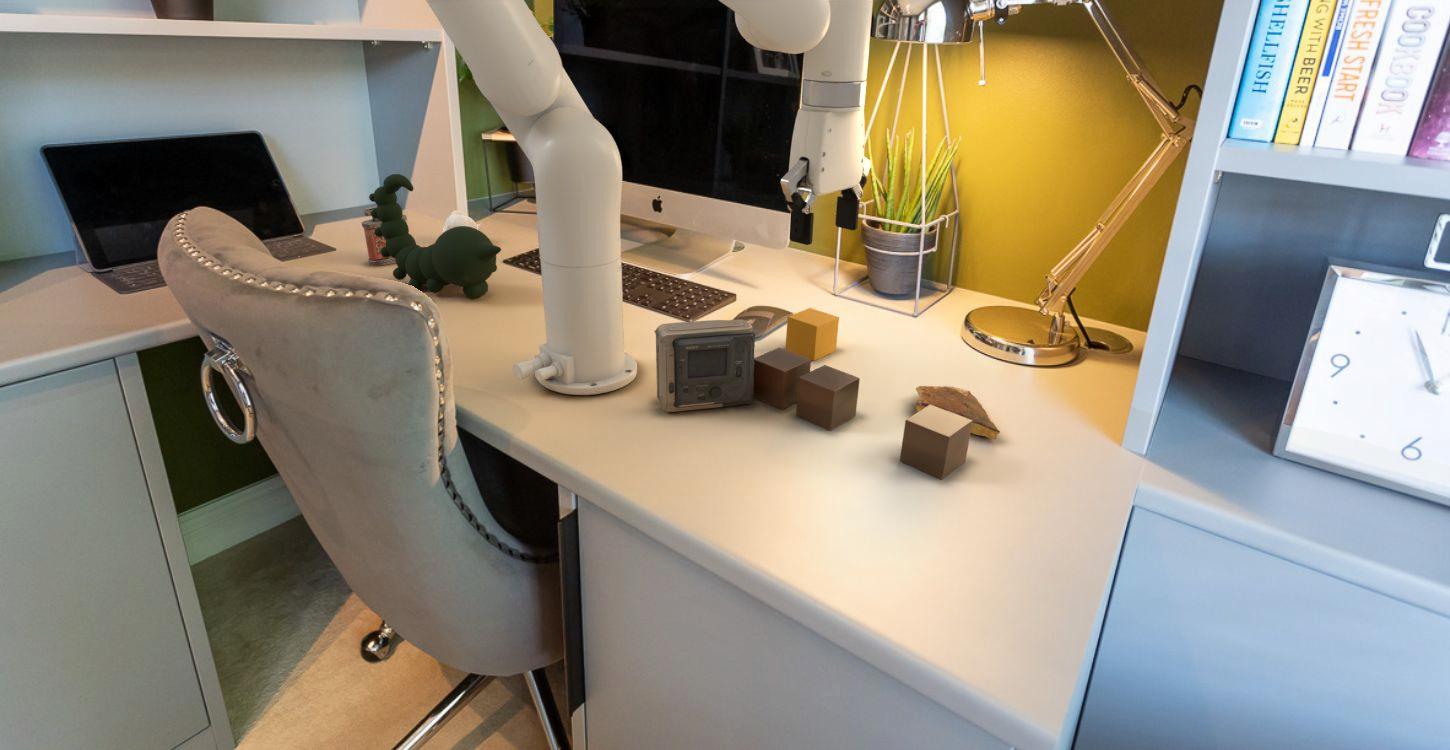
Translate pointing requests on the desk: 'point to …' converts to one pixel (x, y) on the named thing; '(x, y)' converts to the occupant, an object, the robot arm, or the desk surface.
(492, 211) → the desk surface
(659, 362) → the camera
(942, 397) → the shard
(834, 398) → the line block
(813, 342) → the mustard block
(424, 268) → the toy figurine
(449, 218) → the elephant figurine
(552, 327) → the robot arm
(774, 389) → the line block
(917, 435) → the line block
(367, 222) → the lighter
